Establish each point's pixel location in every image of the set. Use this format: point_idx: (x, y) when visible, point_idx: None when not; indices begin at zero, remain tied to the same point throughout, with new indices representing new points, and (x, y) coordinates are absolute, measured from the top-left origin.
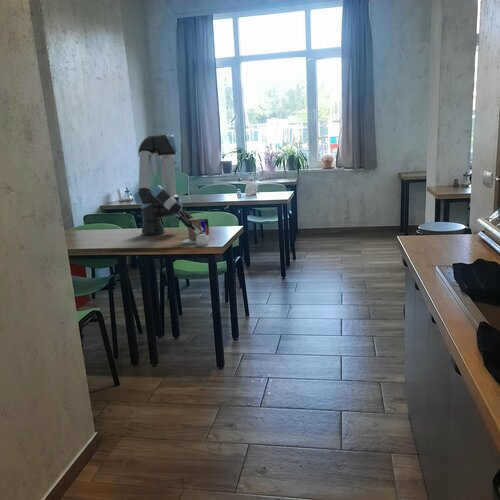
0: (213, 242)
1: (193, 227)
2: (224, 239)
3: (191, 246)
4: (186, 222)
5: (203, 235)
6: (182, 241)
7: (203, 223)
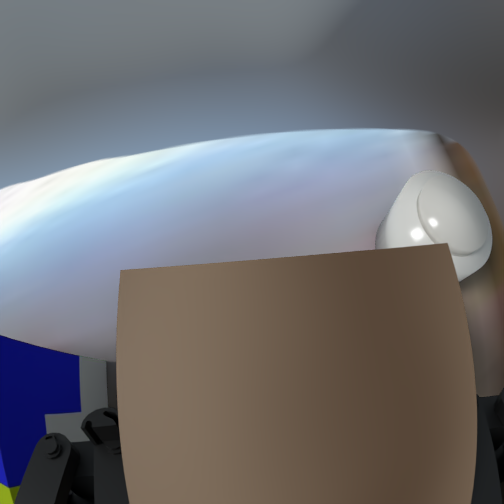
0: (336, 196)
1: None
2: (223, 158)
3: (480, 311)
4: None
5: (466, 190)
6: None
7: (14, 341)
